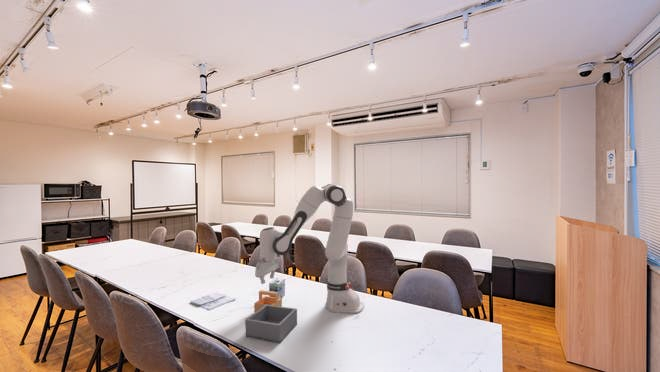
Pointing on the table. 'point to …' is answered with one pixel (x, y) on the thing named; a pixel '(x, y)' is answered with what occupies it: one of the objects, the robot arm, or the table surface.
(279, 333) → the box
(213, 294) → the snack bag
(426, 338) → the table surface
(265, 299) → the small crate
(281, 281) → the light bulb box
